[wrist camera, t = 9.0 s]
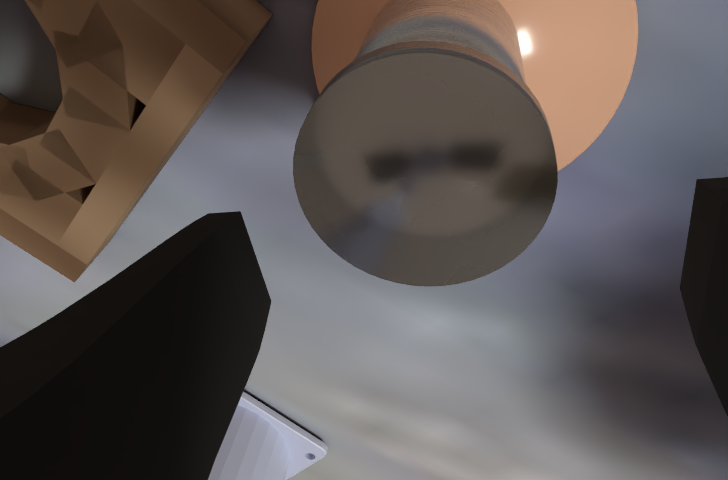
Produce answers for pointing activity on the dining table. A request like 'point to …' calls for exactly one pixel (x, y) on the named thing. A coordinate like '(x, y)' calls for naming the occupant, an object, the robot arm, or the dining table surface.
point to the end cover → (429, 147)
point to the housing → (111, 115)
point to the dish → (525, 57)
